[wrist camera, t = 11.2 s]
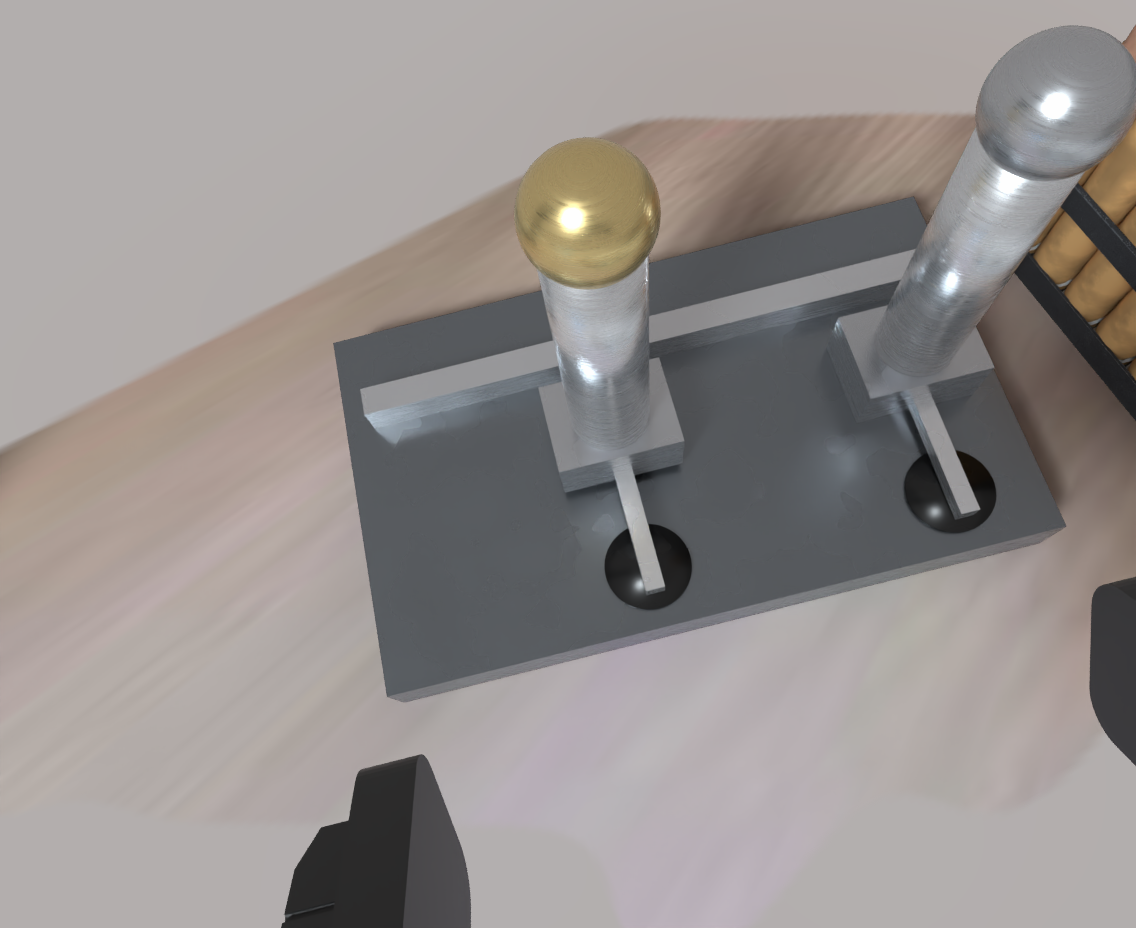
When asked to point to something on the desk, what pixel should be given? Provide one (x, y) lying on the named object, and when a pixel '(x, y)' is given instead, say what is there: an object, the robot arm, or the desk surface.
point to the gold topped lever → (601, 323)
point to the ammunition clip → (1095, 266)
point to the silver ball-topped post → (986, 233)
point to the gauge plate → (669, 495)
